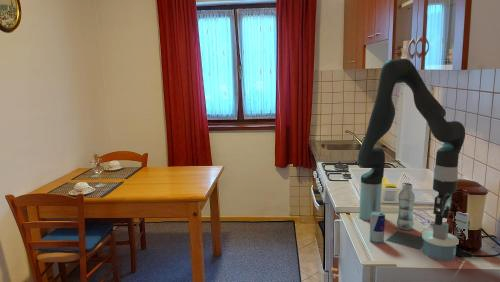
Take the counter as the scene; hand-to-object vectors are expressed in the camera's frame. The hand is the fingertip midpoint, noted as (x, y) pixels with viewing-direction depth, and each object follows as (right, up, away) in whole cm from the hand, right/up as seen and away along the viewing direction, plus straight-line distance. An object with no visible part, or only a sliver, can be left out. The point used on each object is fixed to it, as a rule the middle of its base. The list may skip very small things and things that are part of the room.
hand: (441, 221), depth 138 cm
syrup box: (+13, -12, +9) cm, 20 cm away
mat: (-6, -11, +15) cm, 19 cm away
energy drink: (-19, -11, +13) cm, 26 cm away
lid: (0, -7, +1) cm, 7 cm away
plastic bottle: (-3, -9, +26) cm, 28 cm away
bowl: (0, -13, +2) cm, 13 cm away
